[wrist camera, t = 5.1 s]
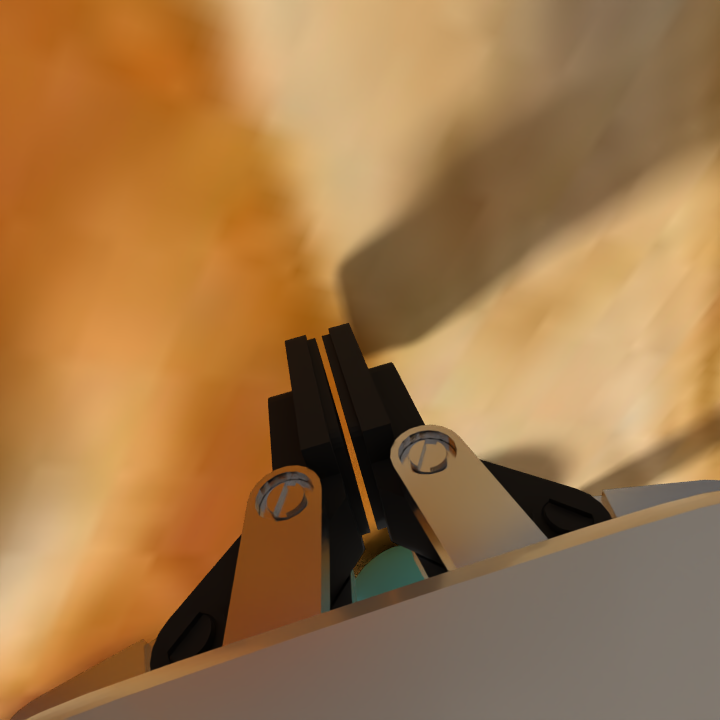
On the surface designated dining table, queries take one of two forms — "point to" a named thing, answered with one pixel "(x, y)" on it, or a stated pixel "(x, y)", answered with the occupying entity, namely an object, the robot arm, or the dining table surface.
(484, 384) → the dining table surface
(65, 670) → the dining table surface
